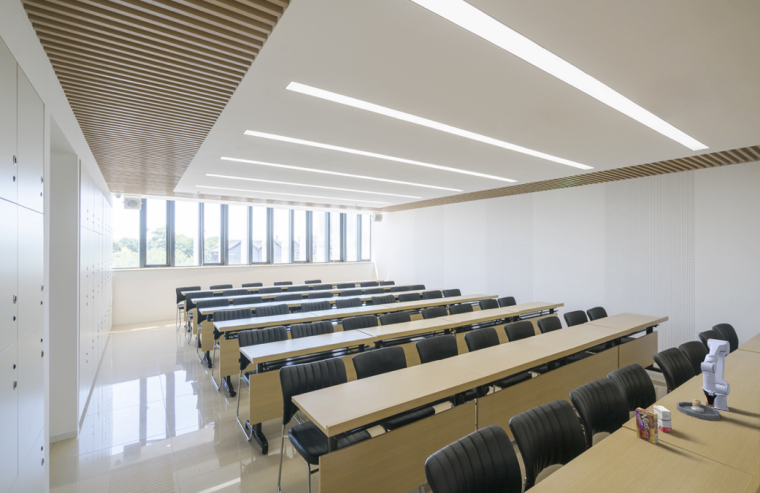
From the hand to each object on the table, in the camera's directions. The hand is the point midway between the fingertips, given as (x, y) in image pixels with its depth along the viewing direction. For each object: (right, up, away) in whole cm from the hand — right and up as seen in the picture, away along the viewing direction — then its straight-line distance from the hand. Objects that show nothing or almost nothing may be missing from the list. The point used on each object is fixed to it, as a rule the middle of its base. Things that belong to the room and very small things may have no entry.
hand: (710, 403), depth 215 cm
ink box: (-44, -7, -17) cm, 47 cm away
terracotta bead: (0, -1, 0) cm, 1 cm away
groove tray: (-5, -7, +3) cm, 9 cm away
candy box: (-62, -7, -28) cm, 68 cm away
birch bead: (-1, -7, +8) cm, 11 cm away
